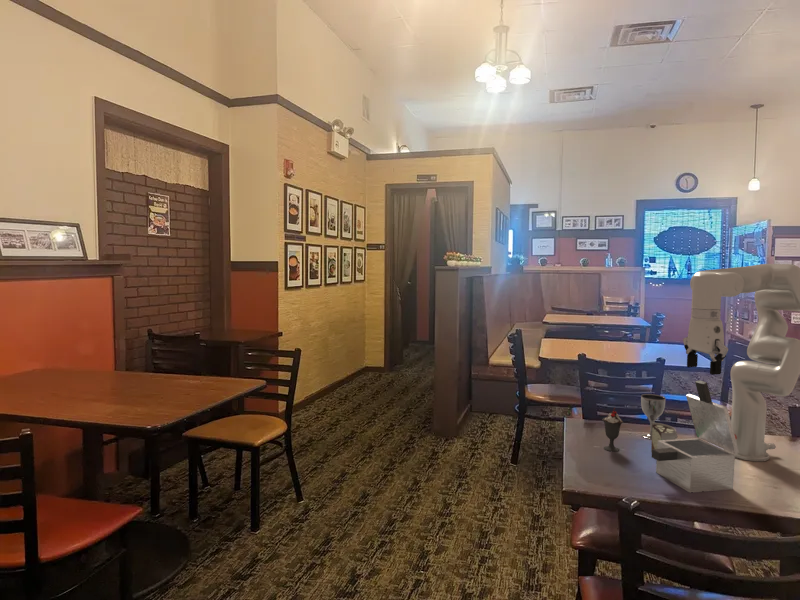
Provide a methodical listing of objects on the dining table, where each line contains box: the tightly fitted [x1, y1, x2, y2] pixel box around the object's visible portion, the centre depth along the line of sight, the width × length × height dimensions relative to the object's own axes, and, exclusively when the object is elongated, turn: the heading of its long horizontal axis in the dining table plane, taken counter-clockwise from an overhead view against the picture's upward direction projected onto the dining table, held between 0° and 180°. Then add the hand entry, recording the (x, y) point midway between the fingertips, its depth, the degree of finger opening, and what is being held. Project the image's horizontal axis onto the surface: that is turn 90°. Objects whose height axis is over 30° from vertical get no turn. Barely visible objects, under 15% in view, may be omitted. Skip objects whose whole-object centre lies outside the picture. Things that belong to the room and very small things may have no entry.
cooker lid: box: [685, 379, 739, 454], centre depth 152 cm, size 20×14×3 cm
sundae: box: [601, 407, 624, 453], centre depth 177 cm, size 7×7×15 cm
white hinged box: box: [651, 437, 736, 494], centre depth 152 cm, size 20×14×10 cm
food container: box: [650, 421, 678, 453], centre depth 170 cm, size 12×6×10 cm, turn 168°
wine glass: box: [640, 393, 666, 441], centre depth 190 cm, size 8×8×15 cm
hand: (703, 370), depth 157 cm, fingers open, 9 cm apart
